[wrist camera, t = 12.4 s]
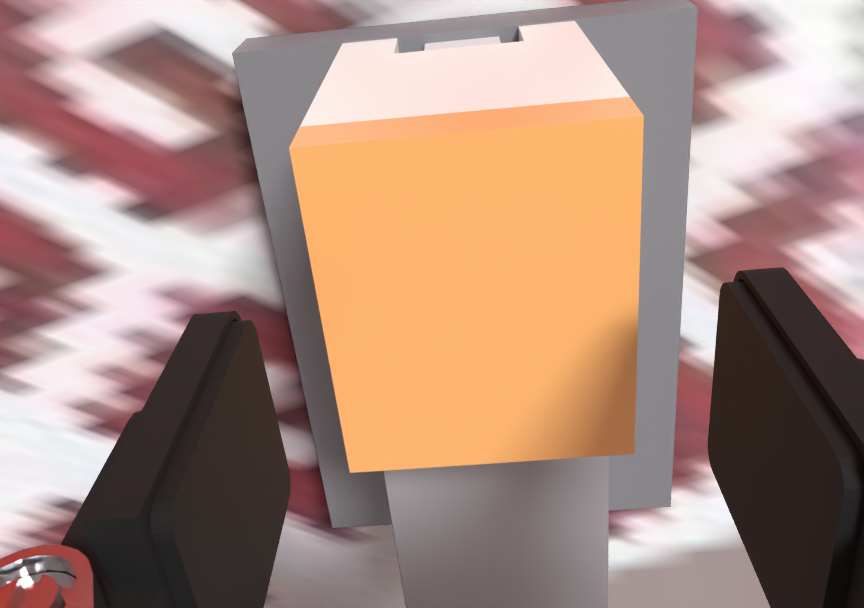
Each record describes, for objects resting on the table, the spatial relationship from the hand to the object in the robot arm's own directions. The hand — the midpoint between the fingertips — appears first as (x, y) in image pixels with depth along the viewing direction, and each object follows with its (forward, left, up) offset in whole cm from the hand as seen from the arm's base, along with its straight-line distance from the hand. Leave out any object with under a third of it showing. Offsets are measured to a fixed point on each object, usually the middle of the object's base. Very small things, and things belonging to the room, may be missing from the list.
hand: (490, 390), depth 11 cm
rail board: (0, -4, -11) cm, 11 cm away
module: (0, 0, -9) cm, 9 cm away
